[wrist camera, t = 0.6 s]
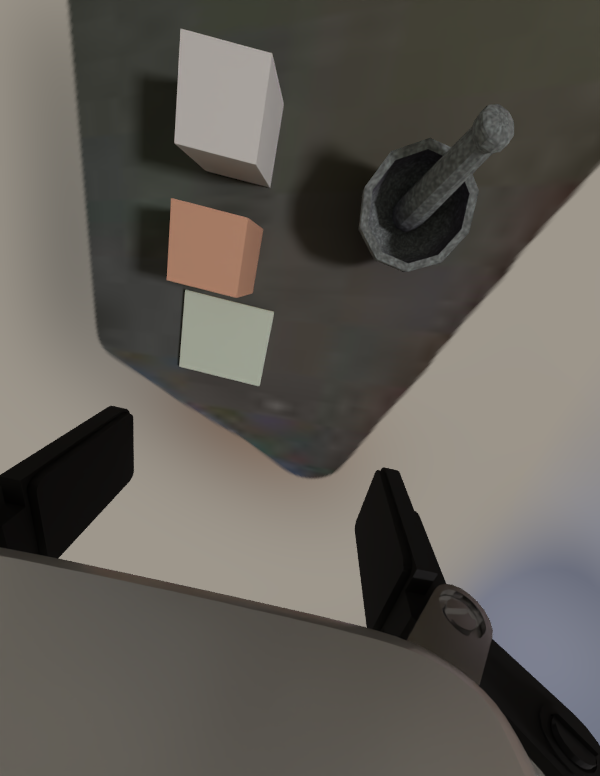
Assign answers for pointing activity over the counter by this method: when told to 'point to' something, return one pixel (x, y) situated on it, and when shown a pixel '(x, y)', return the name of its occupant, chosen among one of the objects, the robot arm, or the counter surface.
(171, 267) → the orange-brown cube
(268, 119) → the white cube
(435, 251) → the mortar and pestle
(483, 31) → the counter surface
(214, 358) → the sage pad
